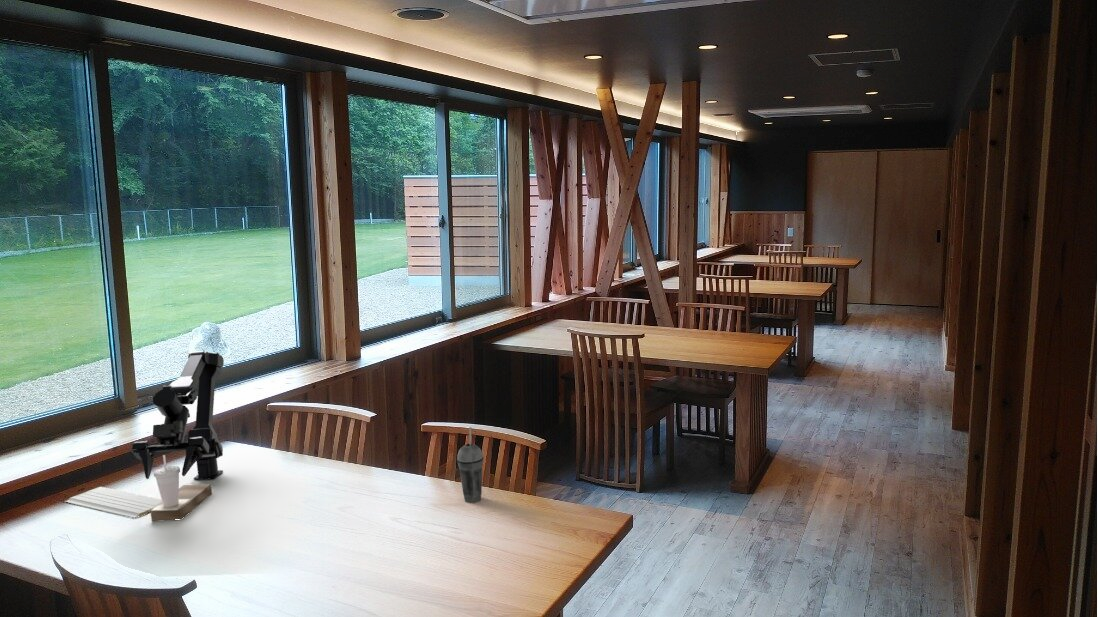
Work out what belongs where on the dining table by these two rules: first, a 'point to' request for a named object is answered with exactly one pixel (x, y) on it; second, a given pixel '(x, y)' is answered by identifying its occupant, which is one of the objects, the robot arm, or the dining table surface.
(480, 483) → the beverage cup
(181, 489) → the beam
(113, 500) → the baseboard molding
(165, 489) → the smoothie
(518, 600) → the dining table surface
